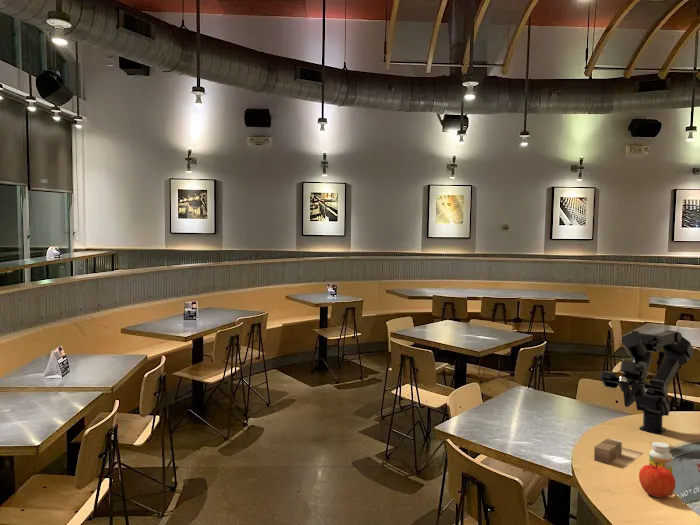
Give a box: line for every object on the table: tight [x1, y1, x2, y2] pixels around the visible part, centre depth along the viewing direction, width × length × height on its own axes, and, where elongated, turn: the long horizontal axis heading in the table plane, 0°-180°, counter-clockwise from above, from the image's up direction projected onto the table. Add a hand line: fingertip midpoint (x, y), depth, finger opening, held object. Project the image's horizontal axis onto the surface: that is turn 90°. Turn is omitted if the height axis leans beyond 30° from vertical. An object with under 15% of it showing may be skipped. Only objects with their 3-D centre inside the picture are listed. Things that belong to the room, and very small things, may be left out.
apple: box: [638, 463, 676, 498], centre depth 131 cm, size 8×8×8 cm
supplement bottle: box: [648, 441, 674, 474], centre depth 139 cm, size 5×5×10 cm
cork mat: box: [611, 446, 644, 467], centre depth 154 cm, size 14×8×1 cm, turn 133°
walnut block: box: [593, 437, 623, 465], centre depth 152 cm, size 4×4×10 cm
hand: (626, 406), depth 162 cm, fingers closed
